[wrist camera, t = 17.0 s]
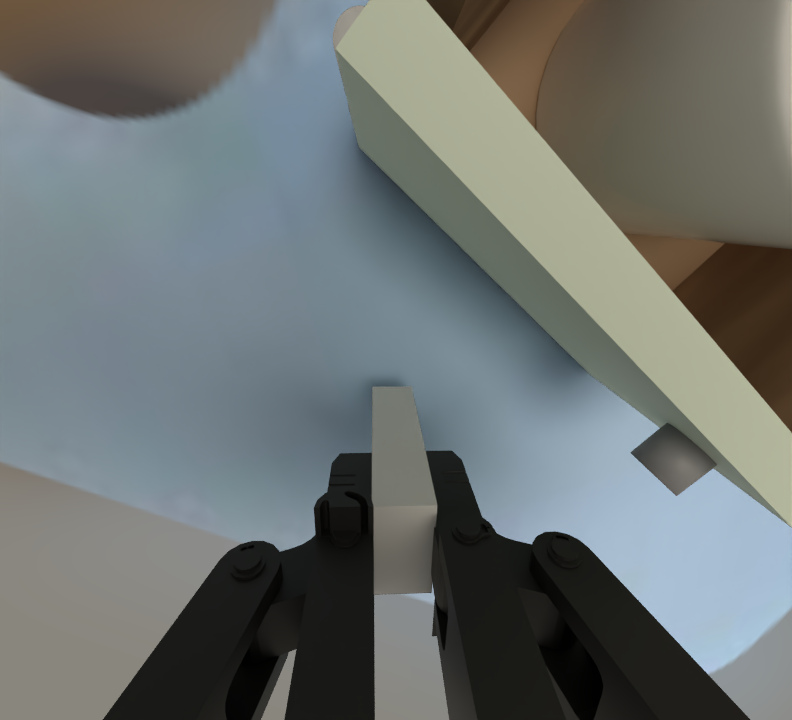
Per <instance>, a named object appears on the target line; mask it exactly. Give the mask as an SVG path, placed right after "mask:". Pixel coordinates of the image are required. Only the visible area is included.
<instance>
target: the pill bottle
mask: <svg viewBox="0 0 792 720" xmlns="http://www.w3.org/2000/svg"><path fill="white" fill-rule="evenodd" d="M536 131H537V132H538V133H539V134H540V136H541V137H542V138H543V139H544V140H545V142H546V143H547V144H548V145H549V146H550V148H551V149H552V150H553V151H554V152H555V153H556V155H557V156H558V157H559V158H560V159H561V161H562V162H563V163H564V164H565V165H566V166H567V168H568V169H569V170H570V171H571V172H572V174H573V175H574V176H575V177H576V178H577V179H578V181H579V182H580V183H581V184H582V185H583V187H584V188H585V189H586V190H587V191H588V192H589V194H590V195H591V196H592V197H593V198H594V200H595V201H596V202H597V203H598V204H599V205H600V207H601V208H602V209H603V210H604V211H605V213H606V214H607V215H608V216H609V217H610V218H611V220H612V221H613V222H614V223H615V224H616V226H617V227H618V228H619V229H620V230H621V231H622V233H623V234H631V235H642V236H653V237H664V238H675V239H686V240H697V241H708V242H719V243H730V244H740V245H751V246H762V247H773V248H784V249H792V0H585V1H584V2H583V3H582V4H581V5H580V6H579V7H578V9H577V10H576V11H575V13H574V14H573V16H572V17H571V19H570V20H569V21H568V23H567V24H566V26H565V27H564V29H563V30H562V31H561V33H560V35H559V37H558V39H557V42H556V44H555V46H554V48H553V50H552V52H551V54H550V56H549V58H548V61H547V64H546V67H545V71H544V74H543V77H542V81H541V84H540V87H539V94H538V102H537V109H536Z"/></svg>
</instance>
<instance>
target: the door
mask: <svg viewBox="0 0 792 720" xmlns="http://www.w3.org/2000/svg"><path fill="white" fill-rule="evenodd" d="M333 45H334V50H335V54H336V58H337V62H338V66H339V70H340V74H341V78H342V82H343V86H344V90H345V94H346V96H347V100H348V106H349V111H350V115H351V119H352V123H353V127H354V130H355V134H356V138H357V142H358V146H359V148H360V149H361V150H362V151H363V152H364V153H365V154H366V155H367V156H368V157H369V158H370V159H371V160H372V161H373V162H374V163H375V164H376V165H377V166H378V167H379V168H380V169H381V170H383V171H384V172H385V173H386V174H387V175H388V176H389V177H390V178H391V179H392V180H393V181H394V182H395V183H396V184H397V185H398V186H399V187H400V188H401V189H402V190H403V191H404V192H405V193H406V194H407V195H408V196H409V197H410V198H411V199H412V200H413V201H414V202H415V203H416V204H417V205H418V206H419V207H420V208H421V209H422V210H423V211H424V212H425V213H426V214H427V215H428V216H429V217H430V218H431V219H432V220H433V221H434V222H435V223H436V224H437V225H438V226H439V227H440V228H441V229H442V230H443V231H445V232H446V233H447V234H448V235H449V236H450V237H451V238H452V239H453V240H454V241H455V242H456V243H457V244H458V245H459V246H460V247H461V248H462V249H463V250H464V251H465V252H466V253H467V254H468V255H469V256H470V257H471V258H472V259H473V260H474V261H475V262H476V263H477V264H478V265H479V266H480V267H481V268H482V269H483V270H484V271H485V272H486V273H487V274H488V275H489V276H490V277H491V278H492V279H493V280H494V281H495V282H496V283H497V284H498V285H499V286H500V287H501V288H502V289H503V290H504V291H506V292H507V293H508V294H509V295H510V296H511V297H512V298H513V299H514V300H515V301H516V302H517V303H518V304H519V305H520V306H521V307H522V308H523V309H524V310H525V311H526V312H527V313H528V314H529V315H530V316H531V317H532V318H533V319H534V320H535V321H536V322H537V323H538V324H539V325H540V326H541V327H542V328H543V329H544V330H545V331H546V332H547V333H548V334H549V335H550V336H551V337H552V338H553V339H554V340H555V341H556V342H557V343H558V344H559V345H560V346H561V347H562V348H563V349H564V350H565V351H566V352H568V353H569V354H570V355H571V356H572V357H573V358H574V359H575V360H576V361H577V362H578V363H579V364H580V365H581V366H582V367H583V368H584V369H585V370H586V371H587V372H588V373H589V374H590V375H591V376H592V377H594V378H595V379H596V380H598V381H599V382H600V383H602V384H603V385H604V386H606V387H607V388H608V389H610V390H611V391H612V392H614V393H615V394H616V395H618V396H619V397H620V398H621V399H623V400H624V401H625V402H627V403H628V404H629V405H631V406H632V407H633V408H635V409H636V410H637V411H639V412H640V413H641V414H643V415H644V416H645V417H647V418H648V419H649V420H650V421H652V422H653V423H654V424H656V425H657V426H658V427H660V429H659V430H657V431H656V432H655V433H654V434H652V435H651V436H650V437H649V438H648V439H646V440H645V441H644V442H643V443H641V444H640V445H639V446H638V447H637V448H635V449H634V450H633V451H632V452H631V454H632V455H633V456H634V457H635V458H637V459H638V460H639V461H640V462H641V463H642V464H643V465H644V466H645V467H646V468H647V469H648V470H649V471H650V472H651V473H652V474H654V475H655V476H656V477H657V478H658V479H659V480H660V481H661V482H662V483H663V484H664V485H665V486H666V487H667V488H668V489H669V490H671V491H672V492H673V493H674V494H675V495H676V496H677V495H679V494H680V493H681V492H683V491H684V490H685V489H686V488H688V487H689V486H690V485H692V484H693V483H694V482H696V481H697V480H698V479H700V478H701V477H702V476H703V475H705V474H706V473H707V472H709V471H710V470H711V469H713V468H714V469H715V470H716V471H718V472H719V473H720V474H722V475H723V476H724V477H726V478H727V479H728V480H730V481H731V482H732V483H734V484H735V485H736V486H737V487H739V488H740V489H741V490H743V491H744V492H745V493H747V494H748V495H749V496H751V497H752V498H753V499H755V500H756V501H757V502H759V503H760V504H761V505H762V506H764V507H765V508H766V509H768V510H769V511H770V512H772V513H773V514H774V515H776V516H777V517H778V518H780V519H781V520H782V521H784V522H785V523H786V524H788V525H789V526H790V527H791V528H792V433H791V431H790V430H789V429H788V428H787V427H786V425H785V424H784V423H783V422H782V421H781V419H780V418H779V417H778V416H777V415H776V414H775V412H774V411H773V410H772V409H771V408H770V406H769V405H768V404H767V403H766V402H765V401H764V399H763V398H762V397H761V396H760V395H759V393H758V392H757V391H756V390H755V389H754V388H753V386H752V385H751V384H750V383H749V382H748V380H747V379H746V378H745V377H744V376H743V375H742V373H741V372H740V371H739V370H738V369H737V367H736V366H735V365H734V364H733V363H732V362H731V360H730V359H729V358H728V357H727V356H726V354H725V353H724V352H723V351H722V350H721V349H720V347H719V346H718V345H717V344H716V343H715V341H714V340H713V339H712V338H711V337H710V336H709V334H708V333H707V332H706V331H705V330H704V328H703V327H702V326H701V325H700V324H699V323H698V321H697V320H696V319H695V318H694V317H693V315H692V314H691V313H690V312H689V311H688V310H687V308H686V307H685V306H684V305H683V304H682V302H681V301H680V300H679V299H678V298H677V297H676V295H675V294H674V293H673V292H672V291H671V289H670V288H669V287H668V286H667V285H666V283H665V282H664V281H663V280H662V279H661V278H660V276H659V275H658V274H657V273H656V272H655V270H654V269H653V268H652V267H651V266H650V265H649V263H648V262H647V261H646V260H645V259H644V257H643V256H642V255H641V254H640V253H639V252H638V250H637V249H636V248H635V247H634V246H633V244H632V243H631V242H630V241H629V240H628V239H627V237H626V236H625V235H624V234H623V233H622V231H621V230H620V229H619V228H618V227H617V226H616V224H615V223H614V222H613V221H612V220H611V218H610V217H609V216H608V215H607V214H606V213H605V211H604V210H603V209H602V208H601V207H600V205H599V204H598V203H597V202H596V201H595V200H594V198H593V197H592V196H591V195H590V194H589V192H588V191H587V190H586V189H585V188H584V187H583V185H582V184H581V183H580V182H579V181H578V179H577V178H576V177H575V176H574V175H573V174H572V172H571V171H570V170H569V169H568V168H567V166H566V165H565V164H564V163H563V162H562V161H561V159H560V158H559V157H558V156H557V155H556V153H555V152H554V151H553V150H552V149H551V148H550V146H549V145H548V144H547V143H546V142H545V140H544V139H543V138H542V137H541V136H540V134H539V133H538V132H537V131H536V130H535V129H534V127H533V126H532V125H531V124H530V123H529V121H528V120H527V119H526V118H525V117H524V116H523V114H522V113H521V112H520V111H519V110H518V108H517V107H516V106H515V105H514V104H513V103H512V101H511V100H510V99H509V98H508V97H507V95H506V94H505V93H504V92H503V91H502V90H501V88H500V87H499V86H498V85H497V84H496V82H495V81H494V80H493V79H492V78H491V77H490V75H489V74H488V73H487V72H486V71H485V69H484V68H483V67H482V66H481V65H480V64H479V62H478V61H477V60H476V59H475V58H474V56H473V55H472V54H471V53H470V52H469V51H468V49H467V48H466V47H465V46H464V45H463V43H462V42H461V41H460V40H459V39H458V38H457V36H456V35H455V34H454V33H453V32H452V30H451V29H450V28H449V27H448V26H447V25H446V23H445V22H444V21H443V20H442V19H441V17H440V16H439V15H438V14H437V13H436V12H435V10H434V9H433V8H432V7H431V6H430V4H429V3H428V2H427V1H426V0H369V2H368V3H367V4H366V6H354V7H351V8H349V9H347V10H346V11H344V12H343V13H342V14H341V16H340V17H339V18H338V20H337V22H336V24H335V28H334V32H333Z"/></svg>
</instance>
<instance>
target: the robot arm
mask: <svg viewBox="0 0 792 720" xmlns="http://www.w3.org/2000/svg"><path fill="white" fill-rule="evenodd" d="M314 516H315V531H316V535H315V536H314V537H313V538H312V539H311V540H309V541H307V542H306V543H304V544H302V545H300V546H297V547H295V548H292V549H288V550H285V551H281V552H279V550H278V549H277V548H276V547H275V546H274V545H273V544H270V543H267V542H265V541H251V542H247V543H244V544H240V545H238V546H237V547H235V548H233V549H231V550H230V551H228V552H227V554H225V555H224V556H223V557H222V558H221V559H220V561H219V562H218V563H217V565H216V566H215V568H214V569H213V570H212V571H211V573H210V574H209V575H208V577H207V578H206V580H205V581H204V583H203V584H202V585H201V586H200V588H199V589H198V591H197V592H196V593H195V595H194V596H193V597H192V599H191V600H190V601H189V603H188V604H187V606H186V607H185V609H184V610H183V611H182V612H181V614H180V615H179V616H178V618H177V619H176V621H175V622H174V624H173V625H172V626H171V627H170V629H169V630H168V631H167V633H166V634H165V636H164V637H163V638H162V640H161V641H160V642H159V644H158V645H157V646H156V648H155V649H154V651H153V652H152V653H151V655H150V656H149V657H148V659H147V660H146V662H145V663H144V664H143V666H142V667H141V668H140V670H139V671H138V673H137V674H136V675H135V677H134V678H133V679H132V681H131V682H130V683H129V685H128V686H127V687H126V689H125V690H124V692H123V693H122V694H121V696H120V697H119V698H118V700H117V701H116V702H115V704H114V705H113V707H112V708H111V709H110V711H109V712H108V713H107V715H106V716H105V717H104V719H103V720H261V718H262V716H263V713H264V711H265V708H266V706H267V704H268V701H269V699H270V697H271V694H272V692H273V690H274V687H275V685H276V682H277V680H278V678H279V675H280V673H281V671H282V668H283V666H284V663H285V661H286V659H287V656H288V652H290V651H292V650H295V649H297V650H296V656H295V661H294V667H293V673H292V679H291V685H290V691H289V696H288V703H287V709H286V714H285V720H375V711H374V710H375V708H374V707H375V701H374V700H375V698H374V697H375V696H374V595H380V594H409V593H431V591H432V582H433V588H434V595H435V603H434V618H433V632H432V636H437V638H438V645H439V652H440V658H441V666H442V672H443V680H444V686H445V693H446V700H447V707H448V714H449V720H750V719H749V718H748V717H747V716H746V715H745V714H744V713H743V711H742V710H741V709H740V708H739V707H738V706H737V705H736V704H735V703H734V702H733V701H732V700H731V699H730V698H729V697H728V695H727V694H726V693H725V692H724V691H723V690H722V689H721V688H720V687H719V686H718V685H717V684H716V683H715V682H714V681H713V680H712V678H711V677H710V676H709V675H708V674H707V673H706V672H705V671H704V670H703V669H702V668H701V667H700V666H699V665H698V664H697V662H696V661H695V660H694V659H693V658H692V657H691V656H690V655H689V654H688V653H687V652H686V651H685V650H684V649H683V648H682V647H681V645H680V644H679V643H678V642H677V641H676V640H675V639H674V638H673V637H672V636H671V635H670V634H669V633H668V632H667V631H666V630H665V628H664V627H663V626H662V625H661V624H660V623H659V622H658V621H657V620H656V619H655V618H654V617H653V616H652V615H651V614H650V613H649V611H648V610H647V609H646V608H645V607H644V606H643V605H642V604H641V603H640V602H639V601H638V600H637V599H636V598H635V597H634V596H633V594H632V593H631V592H630V591H629V590H628V589H627V588H626V587H625V586H624V585H623V584H622V583H621V582H620V581H619V580H618V579H617V577H616V576H615V575H614V574H613V573H612V572H611V571H610V570H609V569H608V568H607V567H606V566H605V565H604V564H603V563H602V562H601V560H600V559H599V558H598V557H597V556H596V555H595V554H594V553H593V552H592V551H591V550H590V549H589V548H588V547H587V546H586V545H585V544H583V543H582V542H581V541H580V540H578V539H576V538H574V537H572V536H570V535H568V534H564V533H559V532H545V533H542V534H540V535H538V536H537V537H536V538H535V540H534V541H533V544H532V545H531V544H527V543H523V542H518V541H514V540H511V539H508V538H505V537H503V536H501V535H499V534H497V533H496V532H495V530H494V528H493V527H492V525H491V524H490V523H489V522H488V521H486V520H485V519H484V518H482V516H481V513H480V510H479V507H478V505H477V502H476V499H475V496H474V493H473V491H472V488H471V485H470V483H469V479H468V476H467V474H466V471H465V468H464V465H463V462H462V460H461V459H460V458H459V457H458V456H457V455H456V454H455V453H454V452H453V451H425V446H424V441H423V437H422V432H421V428H420V423H419V418H418V414H417V409H416V405H415V400H414V395H413V391H412V386H398V387H372V453H340V454H339V456H338V457H337V458H336V459H335V460H334V462H333V463H332V467H331V473H330V479H329V487H328V492H327V493H325V494H324V495H323V496H322V497H320V498H319V499H318V500H317V502H316V504H315V507H314Z"/></svg>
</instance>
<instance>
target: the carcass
mask: <svg viewBox="0 0 792 720" xmlns="http://www.w3.org/2000/svg"><path fill="white" fill-rule="evenodd" d="M426 1H427V2H428V3H429V4H430V6H431V7H432V8H433V9H434V10H435V12H436V13H437V14H438V15H439V16H440V17H441V19H442V20H443V21H444V22H445V23H446V25H447V26H448V27H449V28H450V29H451V30H452V32H453V33H454V34H455V35H456V36H457V38H458V39H459V40H460V41H461V42H462V43H463V45H464V46H465V47H466V48H467V49H468V51H469V52H470V53H471V54H472V55H473V56H474V58H475V59H476V60H477V61H478V62H479V64H480V65H481V66H482V67H483V68H484V69H485V71H486V72H487V73H488V74H489V75H490V77H491V78H492V79H493V80H494V81H495V82H496V84H497V85H498V86H499V87H500V88H501V90H502V91H503V92H504V93H505V94H506V95H507V97H508V98H509V99H510V100H511V101H512V103H513V104H514V105H515V106H516V107H517V108H518V110H519V111H520V112H521V113H522V114H523V116H524V117H525V118H526V119H527V120H528V121H529V123H530V124H531V125H532V126H533V127H534V129H535V130H536V109H537V102H538V94H539V87H540V84H541V81H542V77H543V74H544V71H545V67H546V64H547V61H548V58H549V56H550V54H551V52H552V50H553V48H554V46H555V44H556V42H557V39H558V37H559V35H560V33H561V31H562V30H563V29H564V27H565V26H566V24H567V23H568V21H569V20H570V19H571V17H572V16H573V14H574V13H575V11H576V10H577V9H578V7H579V6H580V5H581V4H582V3H583V2H584V1H585V0H426ZM624 235H625V236H626V237H627V239H628V240H629V241H630V242H631V243H632V244H633V246H634V247H635V248H636V249H637V250H638V252H639V253H640V254H641V255H642V256H643V257H644V259H645V260H646V261H647V262H648V263H649V265H650V266H651V267H652V268H653V269H654V270H655V272H656V273H657V274H658V275H659V276H660V278H661V279H662V280H663V281H664V282H665V283H666V285H667V286H668V287H669V288H670V289H671V291H672V292H673V293H674V294H675V295H676V297H677V298H678V299H679V300H680V301H681V302H682V304H683V305H684V306H685V307H686V308H687V310H688V311H689V312H690V313H691V314H692V315H693V317H694V318H695V319H696V320H697V321H698V323H699V324H700V325H701V326H702V327H703V328H704V330H705V331H706V332H707V333H708V334H709V336H710V337H711V338H712V339H713V340H714V341H715V343H716V344H717V345H718V346H719V347H720V349H721V350H722V351H723V352H724V353H725V354H726V356H727V357H728V358H729V359H730V360H731V362H732V363H733V364H734V365H735V366H736V367H737V369H738V370H739V371H740V372H741V373H742V375H743V376H744V377H745V378H746V379H747V380H748V382H749V383H750V384H751V385H752V386H753V388H754V389H755V390H756V391H757V392H758V393H759V395H760V396H761V397H762V398H763V399H764V401H765V402H766V403H767V404H768V405H769V406H770V408H771V409H772V410H773V411H774V412H775V414H776V415H777V416H778V417H779V418H780V419H781V421H782V422H783V423H784V424H785V425H786V427H787V428H788V429H789V430H790V431H791V433H792V249H784V248H773V247H762V246H751V245H740V244H730V243H719V242H708V241H697V240H686V239H675V238H664V237H653V236H642V235H631V234H624Z"/></svg>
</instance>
